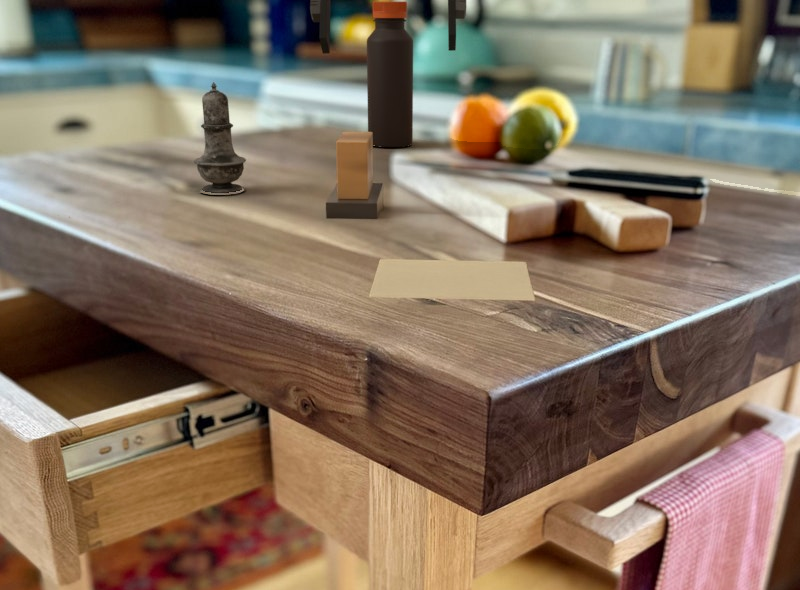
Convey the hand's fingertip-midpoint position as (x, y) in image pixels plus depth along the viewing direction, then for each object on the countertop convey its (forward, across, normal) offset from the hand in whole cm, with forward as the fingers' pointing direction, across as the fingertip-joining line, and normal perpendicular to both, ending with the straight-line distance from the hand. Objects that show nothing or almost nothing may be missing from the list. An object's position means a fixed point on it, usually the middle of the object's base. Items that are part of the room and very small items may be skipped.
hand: (388, 44), depth 93 cm
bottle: (-10, +2, -40) cm, 41 cm away
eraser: (+19, +3, -1) cm, 19 cm away
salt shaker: (+11, +20, -11) cm, 25 cm away
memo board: (+34, -6, +18) cm, 39 cm away
